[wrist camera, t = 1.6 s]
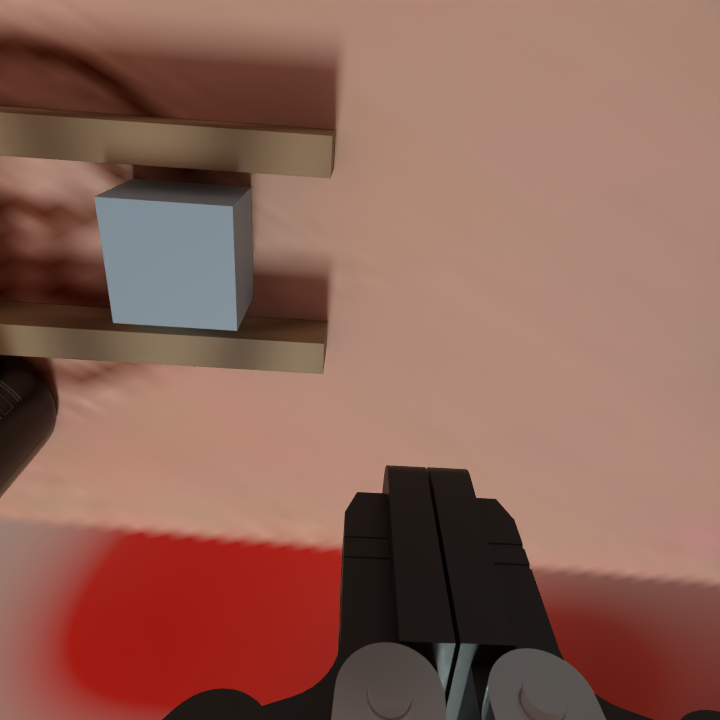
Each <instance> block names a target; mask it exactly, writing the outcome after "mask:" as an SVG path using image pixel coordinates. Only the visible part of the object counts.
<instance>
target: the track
mask: <svg viewBox="0 0 720 720" xmlns="http://www.w3.org/2000/svg"><path fill="white" fill-rule="evenodd" d="M334 151H335V130H330V129H316V128H302V127H288V126H274V125H260V124H246V123H232V122H218V121H204V120H190V119H176V118H162V117H147V116H133V115H119V114H105V113H91V112H77V111H63V110H49V109H35V108H21V107H7V106H0V156H15V157H29V158H44V159H58V160H73V161H87V162H102V163H116V164H131V165H145V166H160V167H174V168H189V169H203V170H218V171H233V172H247V173H262V174H276V175H291V176H305V177H320V178H331V176H332V173H333V169H334ZM326 341H327V321H314V320H298V319H282V318H266V317H250V316H244V318H243V320H242V322H241V324H240V326H239V328H238V330H237V331H232V330H216V329H201V328H185V327H169V326H153V325H137V324H122V323H113V319H112V312H111V308H104V307H88V306H72V305H56V304H40V303H24V302H8V301H0V355H13V356H30V357H47V358H63V359H80V360H97V361H114V362H131V363H148V364H164V365H181V366H198V367H215V368H232V369H249V370H266V371H282V372H299V373H316V374H323V370H324V362H325V354H326Z"/></svg>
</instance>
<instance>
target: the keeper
mask: <svg viewBox="0 0 720 720" xmlns="http://www.w3.org/2000/svg"><path fill="white" fill-rule="evenodd" d="M94 198H95V205H96V212H97V218H98V225H99V232H100V239H101V245H102V252H103V259H104V265H105V272H106V279H107V286H108V292H109V299H110V306H111V312H112V319H113V323H122V324H137V325H153V326H169V327H185V328H201V329H216V330H232V331H237V330H238V328H239V326H240V324H241V322H242V320H243V318H244V316H245V314H246V311H247V309H248V307H249V305H250V303H251V301H252V299H253V297H254V294H253V246H252V198H251V187H243V186H229V185H215V184H201V183H187V182H173V181H159V180H145V179H132V180H129V181H127V182H125V183H123V184H121V185H119V186H116V187H114V188H112V189H110V190H108V191H106V192H104V193H101V194H99V195H97V196H95V197H94Z"/></svg>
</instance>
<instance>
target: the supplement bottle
mask: <svg viewBox="0 0 720 720" xmlns="http://www.w3.org/2000/svg"><path fill="white" fill-rule="evenodd" d="M55 423H56V407H55V402H54V399H53V396H52V394H51V392H50V390H49V388H48V386H47V385H46V383H45V382H44V380H43V379H42V378H41V376H40V375H39V374H38V373H37V372H36V371H35V370H34V369H33V368H32V367H30V366H29V365H28V364H27V363H25V362H24V361H23V360H21V359H20V358H18V357H16V356H13V355H0V498H1V496H2V495H3V494H4V493H5V492H6V490H7V489H8V488H9V487H10V486H11V484H12V483H13V482H14V481H15V480H16V478H17V477H18V476H19V475H20V474H21V472H22V471H23V470H24V469H25V468H26V467H27V465H28V464H29V463H30V462H31V461H32V459H33V458H34V457H35V456H36V455H37V453H38V452H39V451H40V449H41V448H42V447H43V446H44V445H45V443H46V442H47V441H48V439H49V438H50V436H51V434H52V432H53V430H54V427H55Z"/></svg>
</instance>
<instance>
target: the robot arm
mask: <svg viewBox="0 0 720 720" xmlns="http://www.w3.org/2000/svg"><path fill="white" fill-rule="evenodd" d="M522 545H523V544H522V541H521V538H520V535H519V532H518V529H517V526H516V524H515V521H514V519H513V518H512V517H511V516H510V515H509V513H508V512H507V511H506V510H505V509H504V508H503V507H502V505H501V504H500V503H499V502H498V501H497V500H496V499H486V498H476V496H475V492H474V489H473V485H472V481H471V478H470V474H469V472H468V470H466V469H450V468H431V467H428V468H427V469H426V468H425V467H408V466H389V465H386V468H385V474H384V483H383V492H382V493H363V492H357V493H356V495H355V497H354V498H353V500H352V502H351V503H350V505H349V506H348V508H347V510H346V511H345V520H344V535H343V549H342V564H341V565H342V566H341V583H340V611H339V636H338V656H337V658H336V660H335V662H334V664H333V667H332V668H331V669H330V670H329V672H328V673H327V675H326V676H325V677H324V678H323V679H322V680H321V681H320V682H319V683H317V684H316V685H315V686H313V687H312V688H310V689H308V690H307V691H305V692H303V693H301V694H298V695H295V696H293V697H290V698H286V699H283V700H280V701H277V702H273V703H270V704H267V705H264V706H261V705H260V704H259V703H258V701H256V700H255V699H254V698H252V697H251V696H249V695H247V694H245V693H243V692H240V691H237V690H233V689H213V690H208V691H204V692H201V693H199V694H196V695H194V696H192V697H190V698H189V699H187V700H186V701H184V702H183V703H181V704H180V705H178V706H177V707H176V708H175V709H174V710H173V711H171V712H170V713H169V714H168V715H167V716H166V717H165V718H164V719H163V720H653V719H650V718H647V717H644V716H641V715H639V714H636V713H633V712H630V711H627V710H625V709H622V708H620V707H617V706H615V705H613V704H611V703H609V702H607V701H606V700H603V699H602V698H600V697H599V696H598V695H596V694H595V693H594V692H593V691H592V689H591V687H590V686H589V684H588V683H587V681H586V680H585V679H584V678H583V677H582V675H581V674H580V673H579V672H578V671H577V670H576V669H574V668H573V667H572V666H571V665H570V664H568V663H567V662H565V661H564V659H563V657H562V655H561V653H560V650H559V648H558V645H557V642H556V639H555V636H554V633H553V631H552V628H551V625H550V622H549V619H548V616H547V613H546V610H545V607H544V604H543V602H542V599H541V596H540V593H539V590H538V587H537V584H536V581H535V578H534V576H533V573H532V570H530V568H529V565H530V564H529V561H528V558H527V555H526V552H525V550H524V549H523V547H522ZM681 720H720V712H717V711H711V710H699V711H694V712H691V713H689V714H687V715H685V716H684V717H683V718H682V719H681Z"/></svg>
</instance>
